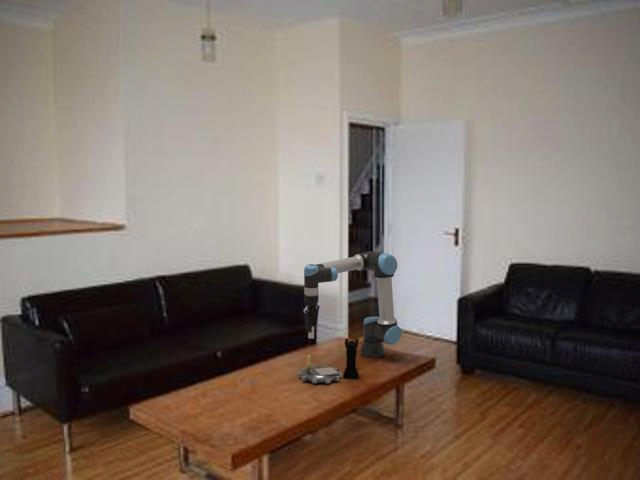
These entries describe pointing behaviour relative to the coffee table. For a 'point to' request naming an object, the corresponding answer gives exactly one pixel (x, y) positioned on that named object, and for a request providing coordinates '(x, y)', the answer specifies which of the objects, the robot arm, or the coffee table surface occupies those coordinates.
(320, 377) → the sprocket
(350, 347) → the chess piece
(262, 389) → the coffee table surface
